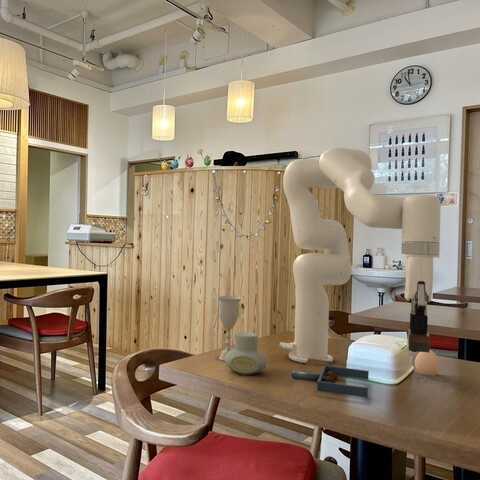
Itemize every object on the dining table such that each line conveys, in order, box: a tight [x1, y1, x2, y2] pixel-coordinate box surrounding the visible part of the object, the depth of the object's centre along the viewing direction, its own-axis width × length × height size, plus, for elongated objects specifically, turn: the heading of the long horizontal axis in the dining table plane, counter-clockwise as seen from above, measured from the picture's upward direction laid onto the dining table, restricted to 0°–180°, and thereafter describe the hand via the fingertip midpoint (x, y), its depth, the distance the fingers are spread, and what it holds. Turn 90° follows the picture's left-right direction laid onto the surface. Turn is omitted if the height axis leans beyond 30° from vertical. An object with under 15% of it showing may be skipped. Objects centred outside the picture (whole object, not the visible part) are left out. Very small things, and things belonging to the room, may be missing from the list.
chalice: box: [217, 295, 242, 362], centre depth 142 cm, size 7×7×18 cm
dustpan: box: [290, 365, 370, 399], centre depth 116 cm, size 18×16×3 cm
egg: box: [414, 349, 441, 377], centre depth 127 cm, size 6×6×8 cm
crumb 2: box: [323, 376, 336, 383], centre depth 115 cm, size 3×3×3 cm
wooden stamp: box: [407, 328, 431, 353], centre depth 108 cm, size 4×8×8 cm, turn 154°
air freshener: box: [224, 331, 268, 376], centre depth 128 cm, size 11×8×10 cm
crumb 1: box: [325, 371, 338, 382], centre depth 119 cm, size 3×3×3 cm
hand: (418, 331), depth 108 cm, fingers closed on wooden stamp, 2 cm apart
